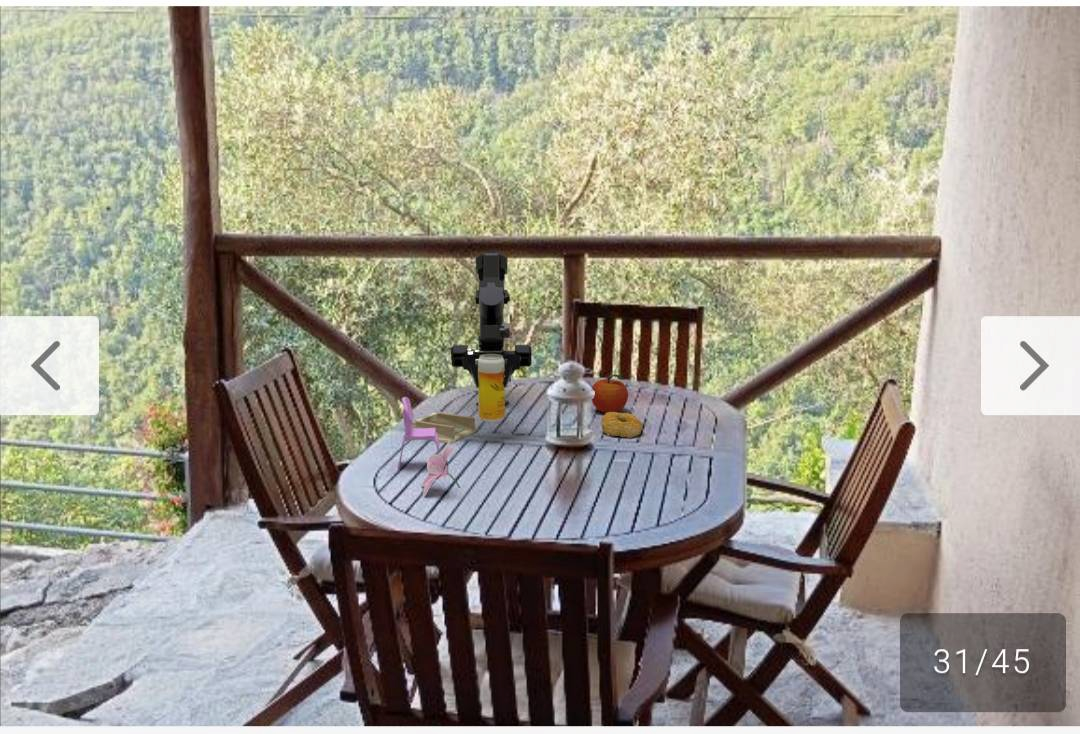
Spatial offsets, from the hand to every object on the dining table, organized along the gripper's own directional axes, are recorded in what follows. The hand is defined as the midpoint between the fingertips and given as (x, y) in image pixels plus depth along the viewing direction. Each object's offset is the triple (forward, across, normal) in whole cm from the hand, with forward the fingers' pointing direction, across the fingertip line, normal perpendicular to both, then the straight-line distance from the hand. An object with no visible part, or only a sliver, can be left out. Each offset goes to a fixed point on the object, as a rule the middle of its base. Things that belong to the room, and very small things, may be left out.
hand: (491, 386), depth 246 cm
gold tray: (+4, -12, +14) cm, 19 cm away
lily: (+33, -10, -15) cm, 38 cm away
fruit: (-9, +30, +28) cm, 42 cm away
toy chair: (+22, -15, -3) cm, 27 cm away
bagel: (+5, +31, +14) cm, 35 cm away
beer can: (+5, 0, +7) cm, 8 cm away
